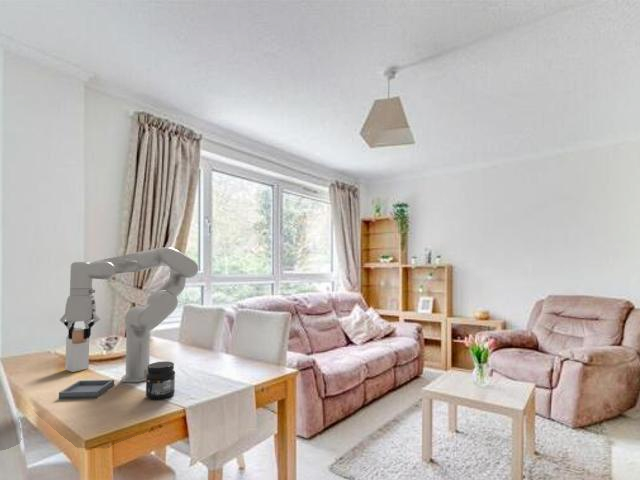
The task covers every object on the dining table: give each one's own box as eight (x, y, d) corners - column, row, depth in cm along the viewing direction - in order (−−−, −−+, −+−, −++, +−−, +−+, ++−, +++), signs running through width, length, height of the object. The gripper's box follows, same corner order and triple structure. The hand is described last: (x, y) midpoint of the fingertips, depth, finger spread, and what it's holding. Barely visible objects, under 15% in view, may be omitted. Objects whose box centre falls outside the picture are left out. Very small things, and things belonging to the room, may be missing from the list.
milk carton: (88, 368, 184) (89, 328, 184) (72, 372, 178) (73, 331, 178) (81, 366, 187) (82, 327, 188) (65, 370, 181) (66, 329, 182)
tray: (114, 385, 160) (114, 379, 160) (97, 398, 146) (97, 391, 146) (79, 386, 159) (79, 380, 159) (58, 399, 145) (58, 392, 145)
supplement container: (153, 390, 154) (153, 360, 155) (179, 391, 154) (179, 361, 154) (140, 400, 144) (140, 368, 144) (167, 401, 143) (168, 368, 144)
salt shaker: (89, 340, 155) (89, 327, 156) (82, 343, 150) (82, 329, 151) (76, 340, 155) (76, 327, 155) (69, 343, 150) (69, 329, 150)
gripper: (107, 291, 158) (106, 336, 157) (64, 291, 157) (62, 336, 156) (98, 293, 151) (97, 340, 150) (52, 293, 149) (51, 340, 148)
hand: (79, 337), depth 153 cm, fingers closed on salt shaker, 5 cm apart
